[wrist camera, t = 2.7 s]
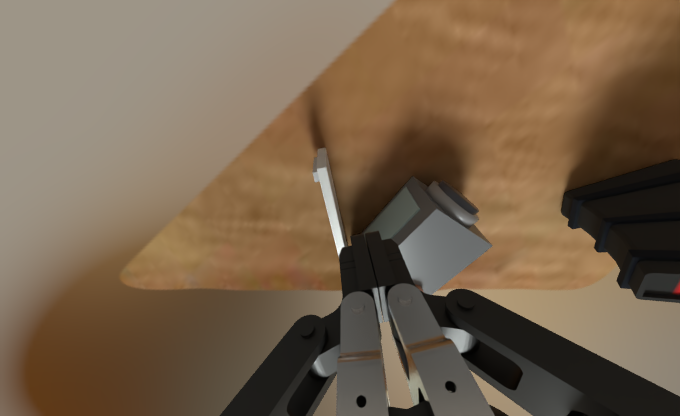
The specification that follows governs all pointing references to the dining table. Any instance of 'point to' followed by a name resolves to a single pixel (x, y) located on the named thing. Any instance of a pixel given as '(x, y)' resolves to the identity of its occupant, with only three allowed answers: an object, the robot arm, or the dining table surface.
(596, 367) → the robot arm
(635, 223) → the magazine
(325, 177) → the side door
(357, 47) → the dining table surface
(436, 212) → the camera body
